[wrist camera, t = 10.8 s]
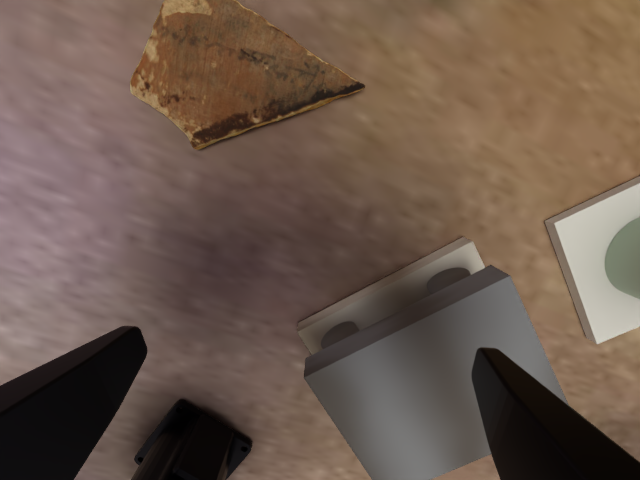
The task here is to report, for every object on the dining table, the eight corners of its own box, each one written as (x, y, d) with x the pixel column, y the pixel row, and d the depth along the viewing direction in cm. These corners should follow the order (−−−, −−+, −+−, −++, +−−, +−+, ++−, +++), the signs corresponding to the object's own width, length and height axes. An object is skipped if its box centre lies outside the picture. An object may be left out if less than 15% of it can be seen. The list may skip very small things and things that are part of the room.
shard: (362, 93, 17) (367, 84, 15) (297, 205, 19) (295, 209, 17) (192, -19, 16) (176, -43, 14) (137, 111, 17) (117, 105, 16)
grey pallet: (367, 430, 22) (381, 508, 17) (298, 322, 20) (290, 374, 15) (521, 359, 20) (587, 421, 15) (463, 236, 18) (516, 261, 13)
